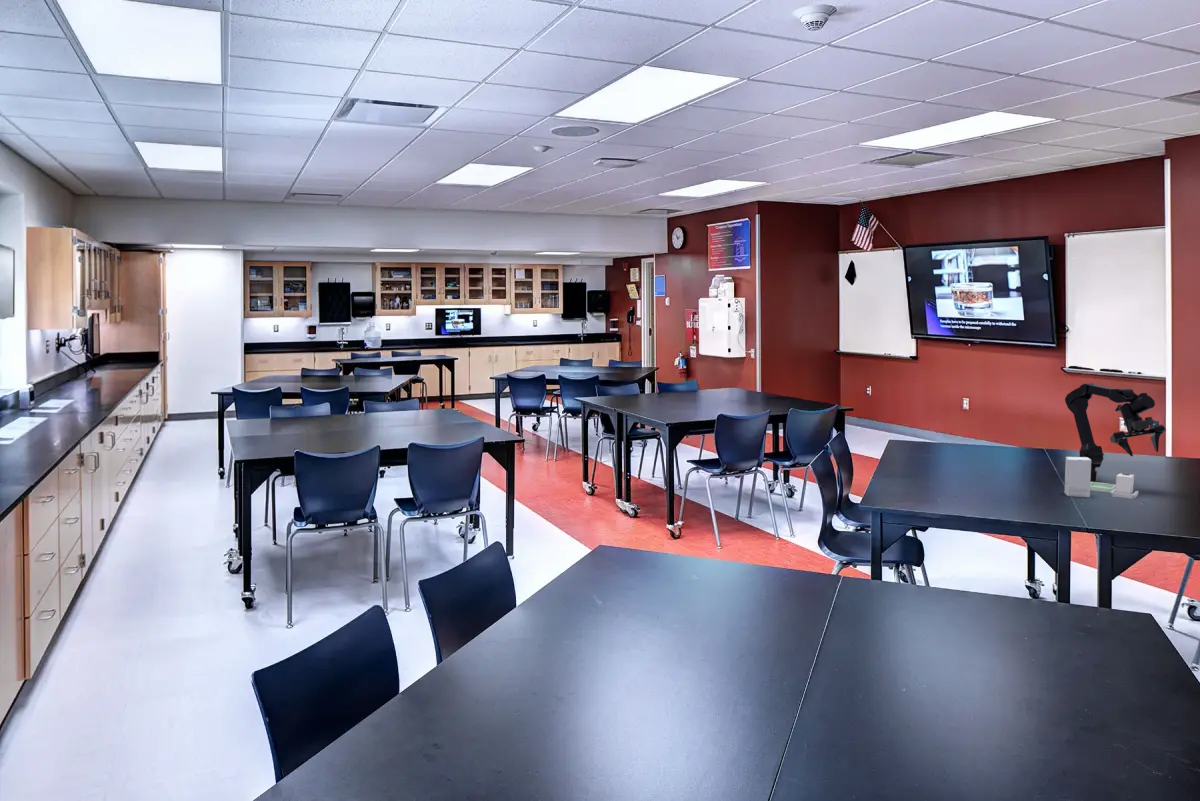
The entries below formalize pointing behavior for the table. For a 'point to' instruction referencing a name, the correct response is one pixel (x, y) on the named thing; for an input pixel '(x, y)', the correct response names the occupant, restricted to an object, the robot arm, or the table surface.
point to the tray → (1102, 487)
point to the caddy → (1124, 483)
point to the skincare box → (1077, 476)
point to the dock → (1133, 496)
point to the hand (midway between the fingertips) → (1144, 454)
